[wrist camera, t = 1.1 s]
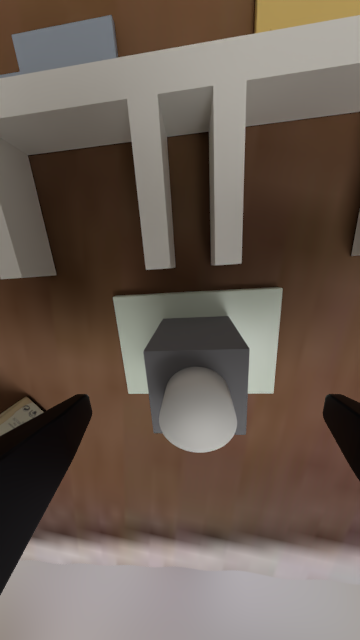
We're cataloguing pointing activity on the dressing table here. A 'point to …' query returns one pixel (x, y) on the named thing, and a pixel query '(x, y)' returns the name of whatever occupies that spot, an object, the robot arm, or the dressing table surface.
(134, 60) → the socket board
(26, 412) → the skincare box
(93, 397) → the dressing table surface
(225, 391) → the plug
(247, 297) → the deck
